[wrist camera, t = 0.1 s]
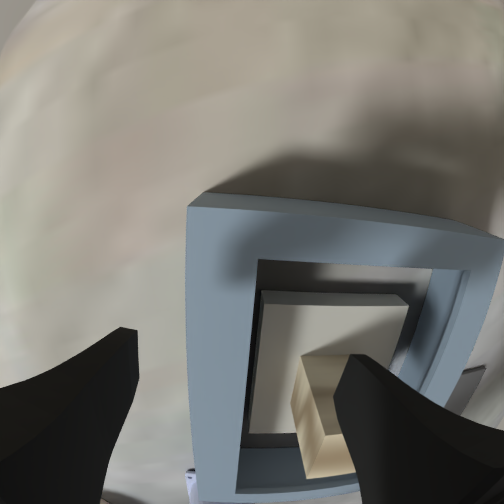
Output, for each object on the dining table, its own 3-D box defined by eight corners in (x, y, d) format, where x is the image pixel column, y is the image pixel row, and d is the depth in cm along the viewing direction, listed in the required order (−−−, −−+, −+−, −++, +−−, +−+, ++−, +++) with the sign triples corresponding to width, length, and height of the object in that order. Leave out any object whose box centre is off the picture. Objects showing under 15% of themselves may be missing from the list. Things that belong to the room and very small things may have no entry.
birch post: (346, 399, 20) (375, 468, 14) (289, 403, 20) (306, 479, 13) (362, 353, 19) (403, 423, 12) (300, 355, 19) (325, 435, 12)
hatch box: (373, 442, 26) (391, 483, 20) (202, 451, 24) (198, 500, 19) (452, 219, 19) (507, 240, 13) (203, 192, 18) (187, 206, 12)
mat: (449, 427, 27) (450, 430, 26) (386, 444, 26) (387, 447, 26) (483, 366, 24) (486, 368, 23) (420, 380, 23) (422, 383, 23)
